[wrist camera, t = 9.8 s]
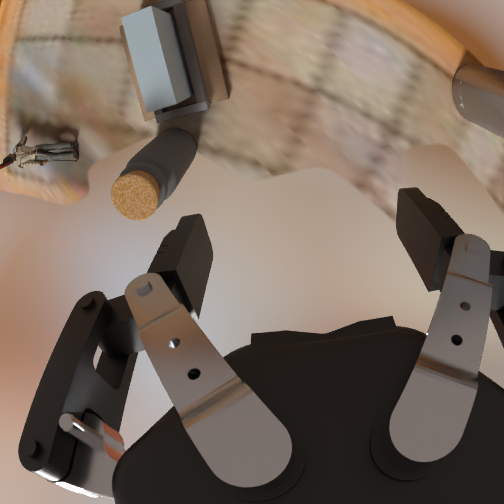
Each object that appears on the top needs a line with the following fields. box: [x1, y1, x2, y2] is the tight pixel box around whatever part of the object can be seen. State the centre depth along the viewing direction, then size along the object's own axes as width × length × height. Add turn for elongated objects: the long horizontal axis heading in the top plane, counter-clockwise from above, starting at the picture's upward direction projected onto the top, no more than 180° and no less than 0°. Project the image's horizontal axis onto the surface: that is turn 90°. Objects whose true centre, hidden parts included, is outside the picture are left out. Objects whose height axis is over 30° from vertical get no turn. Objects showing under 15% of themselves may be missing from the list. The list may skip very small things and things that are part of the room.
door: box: [121, 6, 194, 113], centre depth 25 cm, size 3×11×8 cm, turn 12°
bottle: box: [111, 128, 196, 220], centre depth 31 cm, size 6×6×15 cm
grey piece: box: [119, 0, 229, 123], centre depth 28 cm, size 11×15×3 cm
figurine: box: [0, 136, 78, 169], centre depth 34 cm, size 6×4×15 cm
